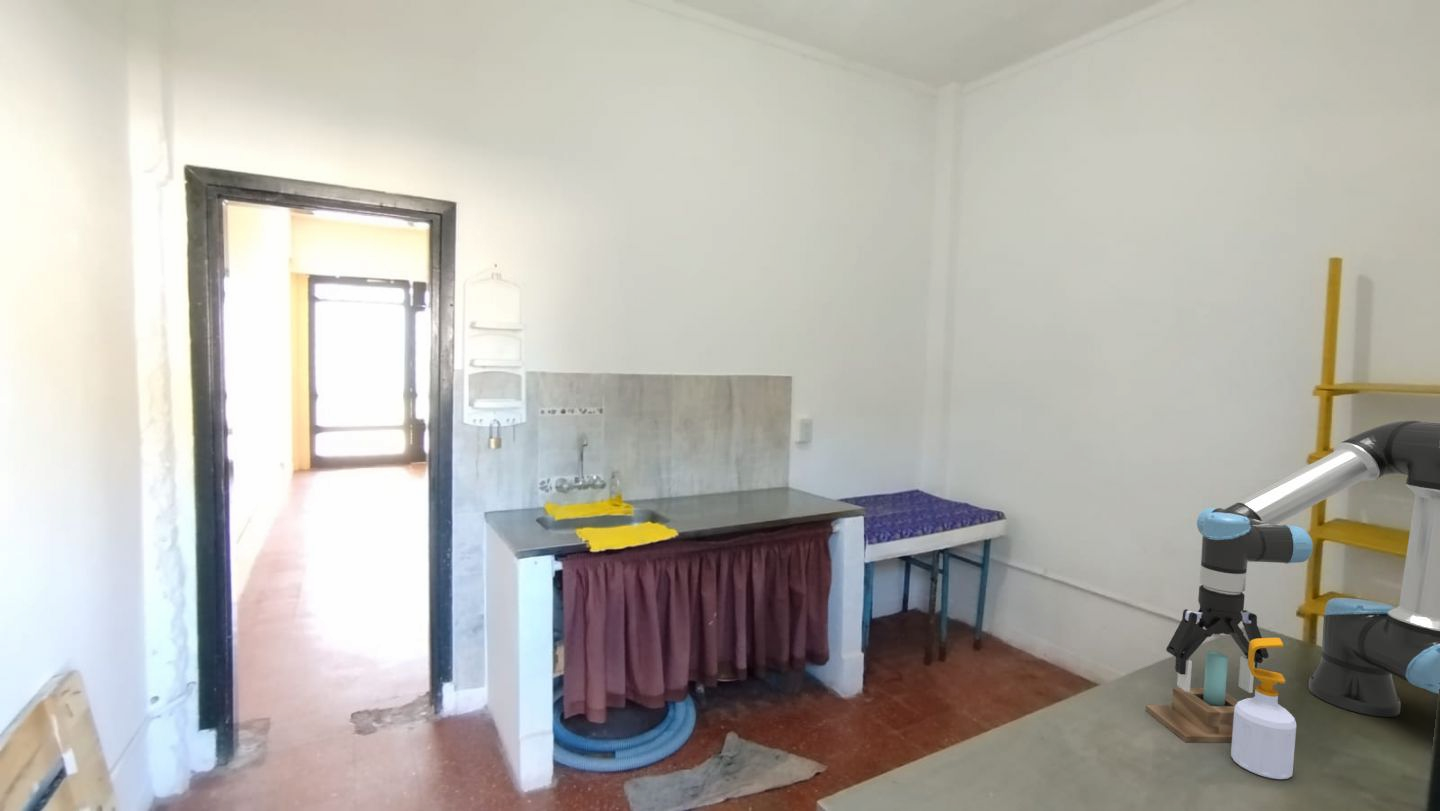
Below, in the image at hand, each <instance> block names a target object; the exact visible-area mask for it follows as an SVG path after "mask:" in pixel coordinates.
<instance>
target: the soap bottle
mask: <svg viewBox="0 0 1440 811" xmlns="http://www.w3.org/2000/svg"><path fill="white" fill-rule="evenodd" d="M1282 647H1284V643H1283V641H1282V639H1281V638H1280V637H1262V638H1257V639H1253V640H1251V641H1249V651H1248V666H1249V669H1250V671H1251V674H1252V675H1253V676H1254V677H1255V678H1257V679H1258V681H1260V682H1261V685H1260V684H1259V685H1255V689H1254V696H1252V697H1247V698H1245V699H1241V700H1238V701H1239V702H1237V704H1236V705H1235V708H1234V720H1233V733H1232V743H1231V746H1230V747H1231V749H1230V757H1231V758H1232V759H1233V762H1235V764H1238V766H1240V767H1241V768H1243V769H1245V770H1246V771H1249V772H1251V773H1253V774H1255V775H1258V776H1261V777H1265V778H1269V779H1273V780H1287V779H1290V778H1291V777H1292V776H1293V773H1294V772H1293V771H1294V770H1293V769H1294V762H1295V760H1294V759H1295V746H1296V734H1297V722H1296V718H1295V717H1294V716H1293V714H1291V713H1290V712H1289V711H1288V710H1287V709H1286V708H1285V707H1283V706H1281V705H1280V704H1279V701H1278V699H1279V691H1278V690H1277V689H1275V688H1274V685H1278V684H1277V683H1280V684H1285V683H1286V680H1285V677H1284V675H1283V674H1282V673H1279V672H1275V671H1272V670H1271V671H1270V670H1266V669H1262V668H1258V667H1257V668H1254V654H1255V651H1256V650H1257V649H1260V648H1266V649H1268V648H1269V649H1270V648H1282Z"/></svg>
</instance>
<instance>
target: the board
mask: <svg viewBox="0 0 1440 811" xmlns="http://www.w3.org/2000/svg"><path fill="white" fill-rule="evenodd" d="M1203 695H1204V687H1200V688H1199V687H1190V692H1186V691H1184V690H1183V689H1182V688H1180V687H1173V688H1172V698H1171V699H1172V700H1171V702H1172V703H1171V705H1149V704H1148V705H1145V712H1147V713H1148V714H1149V715H1150V716H1152V717H1153V718H1154V719H1156V720H1157V721H1158V722H1159V723H1161V724H1162V725H1163V726H1164V727H1165V728H1167V729H1168V730H1169V731H1171V733H1173V734H1175V735H1176V736H1177V737H1178V738H1179V739H1180V740H1182V741H1183V742H1184V743H1216V744H1217V743H1222V744H1224V743H1226V744H1227V743H1229V744H1230V743H1231V744H1232V733H1233V720H1234V708H1235V705H1236V704H1237V702H1239V701H1240V700H1238V699H1236V698H1234V697H1233V696H1231V695H1230V694H1228V693H1227V692H1226V693H1225V706H1210V705H1209V704H1207V703H1206V702H1204V701H1203Z"/></svg>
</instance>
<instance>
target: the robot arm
mask: <svg viewBox="0 0 1440 811" xmlns="http://www.w3.org/2000/svg"><path fill="white" fill-rule="evenodd" d="M1387 475H1407V476H1406V477H1407V478H1406V485H1405V486H1406V487H1407V488H1408V489H1410V491H1411V492H1412V493H1413V494H1414V495H1415V496H1414V503H1413V509H1412V514H1411V515H1412V516H1411V520H1410V521H1411V524H1410V530H1409V536H1408V543H1407V549H1406V556H1405V563H1404V568H1403V569H1404V570H1403V577H1402V584H1401V591H1400V596H1399V598H1400V599H1399V602H1398V603H1399V605H1398V606H1396V607H1395V605H1391V604H1388V603H1384V602H1381V601H1380V602H1379V601H1374V600H1370V599H1369V600H1368V599H1361V598H1360V599H1359V598H1351V597H1335V598H1334V597H1333V598H1331V599H1329V600H1327V602H1326V605H1325V610H1324V613H1323V626H1322V627H1323V628H1322V645H1321V657H1320V660H1319V662H1318V663H1317V665H1316V667H1315V669H1314V671H1313V674H1312V675H1310V677H1309V680H1308V681H1309V682H1308V691H1309V692H1310V693H1311V694H1312V695H1314V696H1315V697H1317V698H1318V699H1320V700H1322V701H1324V702H1326V703H1328V704H1331V705H1333V706H1336V707H1337V708H1338V707H1339V708H1341V709H1345V710H1348V711H1350V712H1355V713H1359V714H1363V715H1367V716H1374V717H1380V718H1381V717H1384V718H1387V717H1388V718H1390V717H1397V716H1399V715H1400V714H1401V707H1402V706H1401V700H1400V698H1399V696H1398V694H1397V689H1396V686H1395V682H1394V678H1393V676H1396V677H1398V678H1399V679H1402V680H1403V681H1407V682H1408V683H1409V684H1411V685H1413V686H1415V687H1417V688H1421V689H1424V690H1427V691H1429V692H1430V693H1433V694H1438V695H1440V694H1439V689H1440V684H1439V683H1440V422H1428V421H1420V420H1418V421H1417V420H1402V421H1401V420H1400V421H1393V422H1390V423H1386V424H1382V425H1379V426H1376V427H1373V428H1370V429H1367V430H1364V431H1362V432H1360V433H1358V434H1355V435H1354V436H1352V437H1349V438H1347V439H1345V440H1344V441H1341V442H1340V443H1338V444H1336V445H1335V446H1334V448H1333V452H1332V453H1330V454H1328V455H1326V456H1324V457H1322V458H1319V459H1318V460H1315V461H1314V462H1312V463H1310V464H1308V465H1307V466H1305V467H1302V468H1301V469H1299V470H1297V471H1295V472H1293V473H1292V474H1290V475H1287V476H1286V477H1284V478H1281V479H1280V480H1278V481H1276V482H1274V483H1272V484H1271V485H1269V486H1267V487H1264V488H1263V489H1261V490H1259V491H1257V492H1255V493H1254V494H1251V495H1249V496H1248V497H1245V498H1244V499H1242V500H1240V501H1238V502H1236V503H1234V504H1232V505H1230V506H1227V507H1226V508H1221V507H1207V508H1206V509H1204V510H1202V511H1200V513H1199V515H1198V516H1197V519H1196V527H1197V529H1198V532H1199V533H1200V534H1201V535H1202V536H1201V537H1202V538H1201V539H1202V540H1201V557H1200V558H1201V559H1200V571H1199V572H1200V573H1199V574H1200V575H1199V583H1200V584H1201V585H1199V588H1198V597H1197V599H1198V600H1197V601H1198V605H1199V609H1198V611H1191V610H1189V609H1187V608H1186V609H1184V610H1183V611H1182V619H1181V620H1180V623H1179V624H1178V626H1177V628H1176V630H1175V631H1174V634H1173V636H1172V637H1171V640H1170V641H1169V643H1168V644H1167V646H1166V648H1165V650H1166V652H1167V653H1169V654H1170V655H1172V656H1173V657H1175V664H1174V665H1175V666H1174V670H1175V672H1176V673H1177V680H1176V686H1177V687H1178V688H1182V689H1183V690H1184V691H1186V692H1190V688H1191V679H1192V666H1193V664H1192V663H1193V661H1192V660H1191V659H1190V657H1191V656H1192V655H1193V654H1194V653H1195V652H1196V651H1197V649H1198V648H1199V647H1200V646H1202V644H1203V643H1204V642H1205V641H1206V639H1207V638H1211V637H1212V636H1213V634H1214V635H1221V634H1223V635H1230V636H1231V638H1232V640H1234V642H1235V643H1236V645H1237V646H1238V647H1239V649H1240V650H1241V651H1242V653H1243V654H1244V655H1243V656H1240V660H1239V661H1240V662H1239V674H1238V686H1237V687H1238V688H1241V689H1242V690H1244V691H1246V692H1247V693H1248V694H1249V693H1250V694H1251V693H1252V694H1253V690H1254V676H1253V675H1252V674H1251V671H1250V669H1249V666H1248V651H1249V643H1250V641H1251V640H1253V639H1257V638H1263V637H1262V634H1261V632H1260V629H1259V627H1258V616H1257V614H1254V612H1250V611H1248V610H1246V609H1245V606H1244V605H1245V597H1246V596H1245V594H1244V593H1243V592H1245V591H1246V583H1247V572H1248V571H1247V568H1248V563H1249V562H1250V563H1251V562H1252V563H1255V562H1256V563H1276V564H1277V563H1279V564H1281V563H1282V564H1287V565H1288V564H1297V563H1304V562H1306V561H1308V560H1309V559H1310V558H1311V556H1312V554H1313V550H1314V548H1313V547H1314V542H1313V540H1312V537H1311V535H1310V534H1309V533H1308V532H1307V531H1306V530H1305V529H1303V528H1302V527H1300V526H1295V525H1288V524H1283V525H1280V523H1282V522H1284V521H1286V520H1288V519H1290V518H1291V517H1293V516H1296V515H1297V514H1299V513H1301V512H1304V511H1306V510H1307V509H1309V508H1311V507H1313V506H1315V505H1317V504H1319V503H1321V502H1323V501H1324V500H1326V499H1329V498H1330V497H1333V496H1334V495H1336V494H1339V493H1340V492H1342V491H1345V490H1347V489H1348V488H1350V487H1352V486H1353V485H1356V484H1358V483H1360V482H1362V481H1364V482H1372V481H1375V480H1377V479H1379V478H1381V477H1383V476H1387ZM1241 623H1242V626H1243V628H1244V630H1245V633H1246V636H1245V635H1244V634H1245V633H1244V632H1243V630H1242V629H1241V627H1240V626H1239V624H1241ZM1246 637H1247V638H1246ZM1268 658H1269V652H1268V650H1267V648H1260V649H1257V650H1256V651H1255V654H1254V668H1257V669H1258V664H1261V663H1263V661H1264V659H1266V660H1267V659H1268Z"/></svg>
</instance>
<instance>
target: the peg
mask: <svg viewBox="0 0 1440 811" xmlns="http://www.w3.org/2000/svg"><path fill="white" fill-rule="evenodd" d="M1205 654H1206V656H1205V666H1204V684H1203V688H1204V695H1203V701H1204V702H1206V703H1207V704H1209V705H1210V706H1225V693H1226V694H1227V692H1226V690H1227V676H1228V664H1229V663H1228V660H1229V657H1228V655H1226V654H1224V653H1222V652H1219V651H1218V652H1217V651H1206V652H1205Z"/></svg>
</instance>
